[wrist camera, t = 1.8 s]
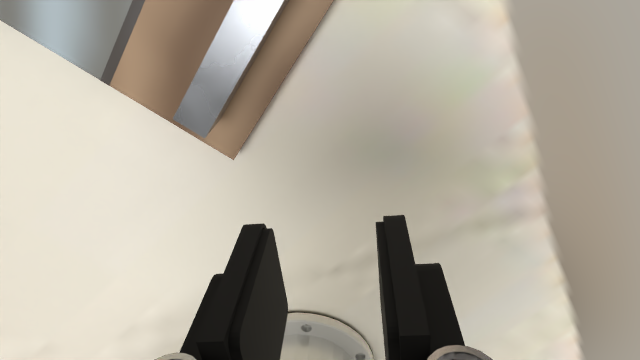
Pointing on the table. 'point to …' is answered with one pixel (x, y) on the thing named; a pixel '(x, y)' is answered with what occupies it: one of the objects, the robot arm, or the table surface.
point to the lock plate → (166, 51)
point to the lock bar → (227, 62)
